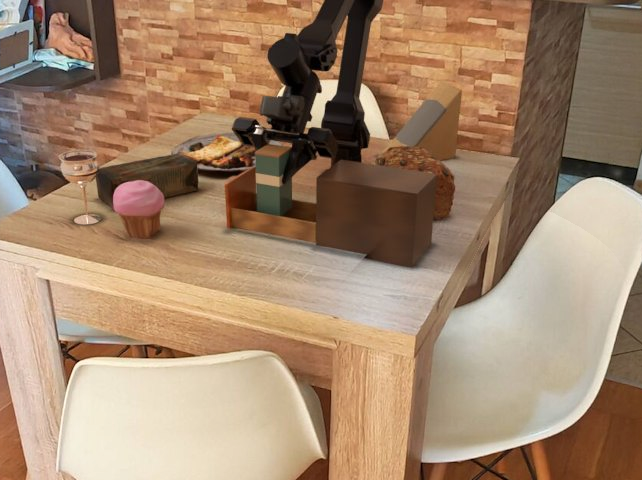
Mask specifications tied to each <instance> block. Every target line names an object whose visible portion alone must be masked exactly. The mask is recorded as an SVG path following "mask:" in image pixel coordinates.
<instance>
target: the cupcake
mask: <svg viewBox="0 0 642 480" xmlns="http://www.w3.org/2000/svg"><path fill="white" fill-rule="evenodd" d="M113 205H114V209H113V210H114V212H115V213H117V214H118V216H119V218H120V220H121V222H122V224H123V227H124V230H125V233H126V235H127V236H128V237H129V239H132V238H137V239H142V240H145V239H149V238H151V237H152V236H154V235H155V234H156V233H158V232H159V231H160V230H161V212H162V210H163V209H164V208H165V198H164V196H163V194H162V192H161V191H160V190H159V189H158V188H157V187H156V186H154V185H153V184H152V183H150V182H148V181H143V180H136V181H132V182H126V183H123V184H121V185H120V186H118V187H117V188H116V190H115V192H114V195H113Z"/></svg>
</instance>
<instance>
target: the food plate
mask: <svg viewBox="0 0 642 480" xmlns="http://www.w3.org/2000/svg"><path fill="white" fill-rule="evenodd" d="M269 144H273V145H279V146H283V145H282V143H281V142H279V141H273V140H270V143H269ZM176 153H182V154H183V155H184V156H186V157H187V158H189V159H191V160H193V161H195V162H196V163H197V168H198V171H206V172H224V173H230V172H237V173H238V174H240V172H244V171H246V170H248V169H249V168H251V167H252V166H254V167H255V170H256V163H255V147H252V146H246V145H244V144H242V143H241V141H240V140H239V139H238V137H237V136H236V135H235V133H234V132H218V133H211V134H207V135H201V136H200V135H197V136H194V137H191V138H189V139H187V140H185V141H183V142H181V143H180V144H178V145H177V146H175V147H174V148H172V149H171V154H170V155H173V154H176Z"/></svg>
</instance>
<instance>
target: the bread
mask: <svg viewBox="0 0 642 480" xmlns="http://www.w3.org/2000/svg"><path fill="white" fill-rule="evenodd" d="M381 153H382V152H381ZM381 153H379V155H378V156H377V157H376V158H375V160H374V165H381V166H387V167H394V168H401V169H408V170H414V171H421V172H428V173H434V174H437V183H436V194H435V205H434V217H433V220H442V219H446V218H447V217H449V215H450V214H451V211H452V207H453V206H454V199H455V197H454V195H455V192H456V184H455V174H453V173H452V171H451V169H450V168H449V167H447V166H446V165H445V164H444V163H443V162H442V161H441V160H438V159H437V158H435V157H434V156H433V155H431V154H430V153H429V152H427V151H426V150H425V149H423V148H421V147H413V146H398V147H390V148H389V149H388V150H387V151H385V152H384V153H382V154H381Z"/></svg>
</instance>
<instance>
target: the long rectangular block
mask: <svg viewBox="0 0 642 480" xmlns="http://www.w3.org/2000/svg"><path fill="white" fill-rule="evenodd" d="M291 150H292V146H287V145H286V146H285V145H282V146H279V145H273V144H267V145H266V146H264V147H262V148H261V149H259V150H257V151H256V152H255V163H256V169H255V171H256V193H257V212H259V213H264V214H270V215H276V216H282V215H283V214H284V213H286V212H287V211H288V210H289V209H291V208H292V199H293V177H292V178H291V179H290V180H289V181H288V182H287V183H286V184H283V183H282V177H283V173H284V170H285V167H286V165H287V162H288V159H289V157H290V154H291Z"/></svg>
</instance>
